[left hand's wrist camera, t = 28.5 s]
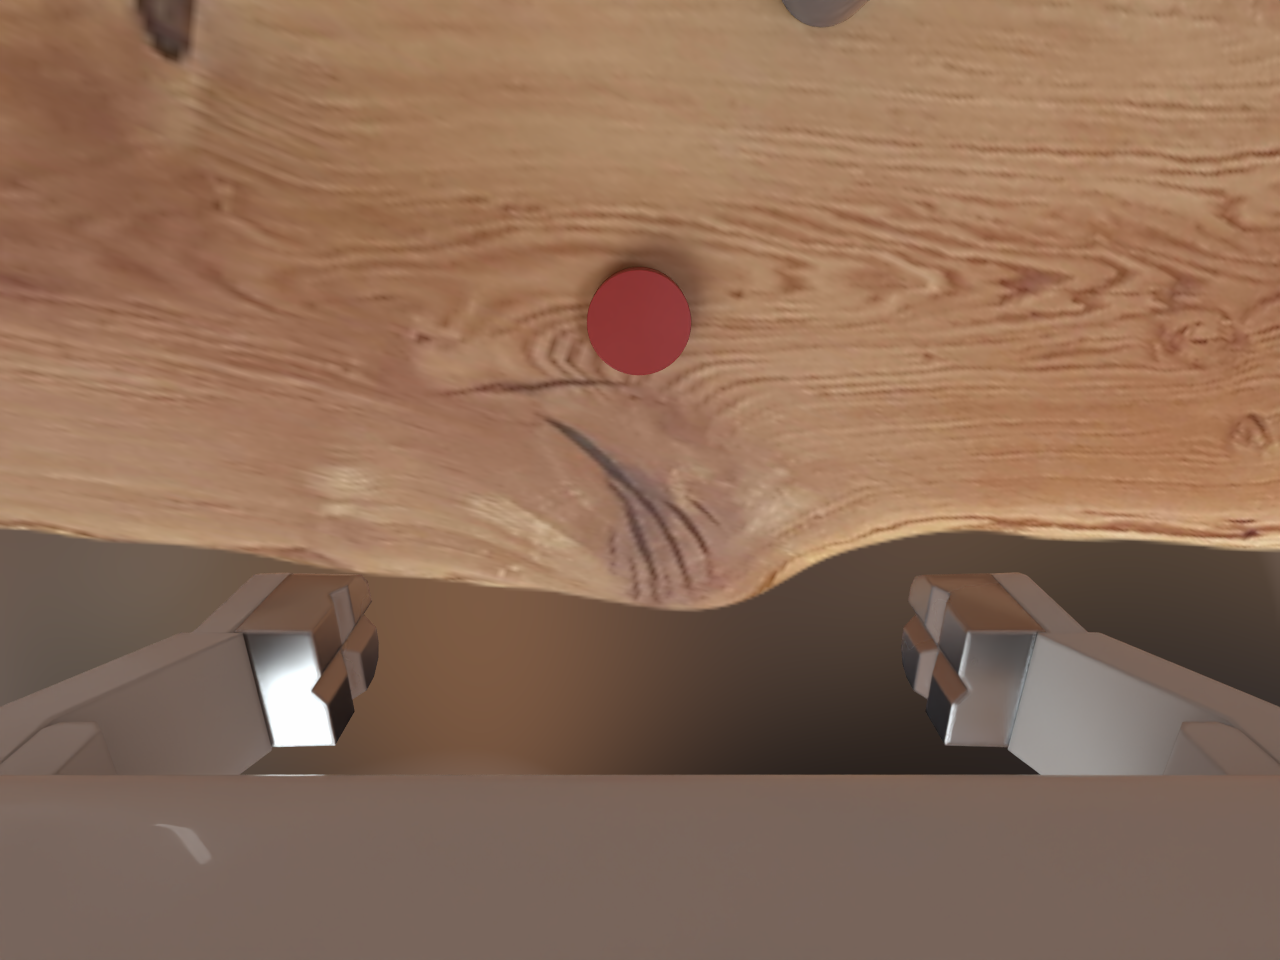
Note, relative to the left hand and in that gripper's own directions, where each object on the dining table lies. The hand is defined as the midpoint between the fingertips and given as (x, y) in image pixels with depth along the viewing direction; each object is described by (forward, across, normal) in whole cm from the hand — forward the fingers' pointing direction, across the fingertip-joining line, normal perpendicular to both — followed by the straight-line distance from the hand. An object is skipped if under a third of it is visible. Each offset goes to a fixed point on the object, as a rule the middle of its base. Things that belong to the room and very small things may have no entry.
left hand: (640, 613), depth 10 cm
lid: (+28, 0, 0) cm, 28 cm away
